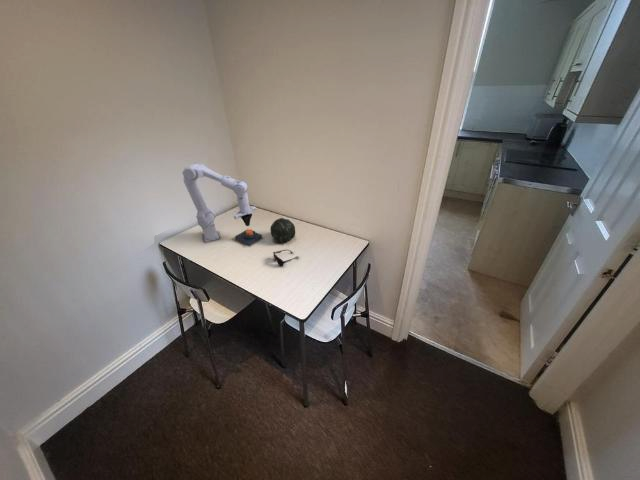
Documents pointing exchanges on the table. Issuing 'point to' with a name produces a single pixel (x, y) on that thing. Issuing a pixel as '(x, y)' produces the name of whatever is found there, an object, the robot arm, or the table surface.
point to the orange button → (249, 232)
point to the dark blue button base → (248, 238)
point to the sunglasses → (281, 259)
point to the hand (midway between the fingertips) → (247, 225)
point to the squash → (282, 230)
